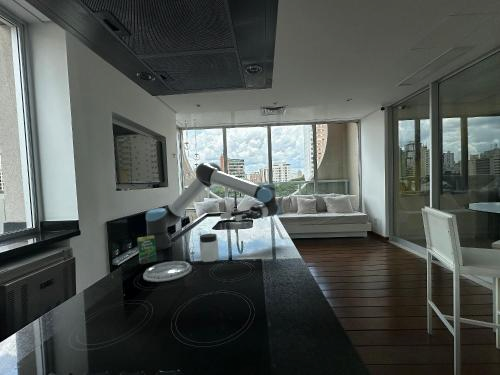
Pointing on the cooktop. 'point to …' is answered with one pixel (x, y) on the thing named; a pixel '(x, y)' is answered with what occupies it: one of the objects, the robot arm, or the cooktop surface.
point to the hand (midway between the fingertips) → (228, 217)
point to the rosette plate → (167, 271)
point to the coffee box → (147, 249)
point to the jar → (209, 247)
